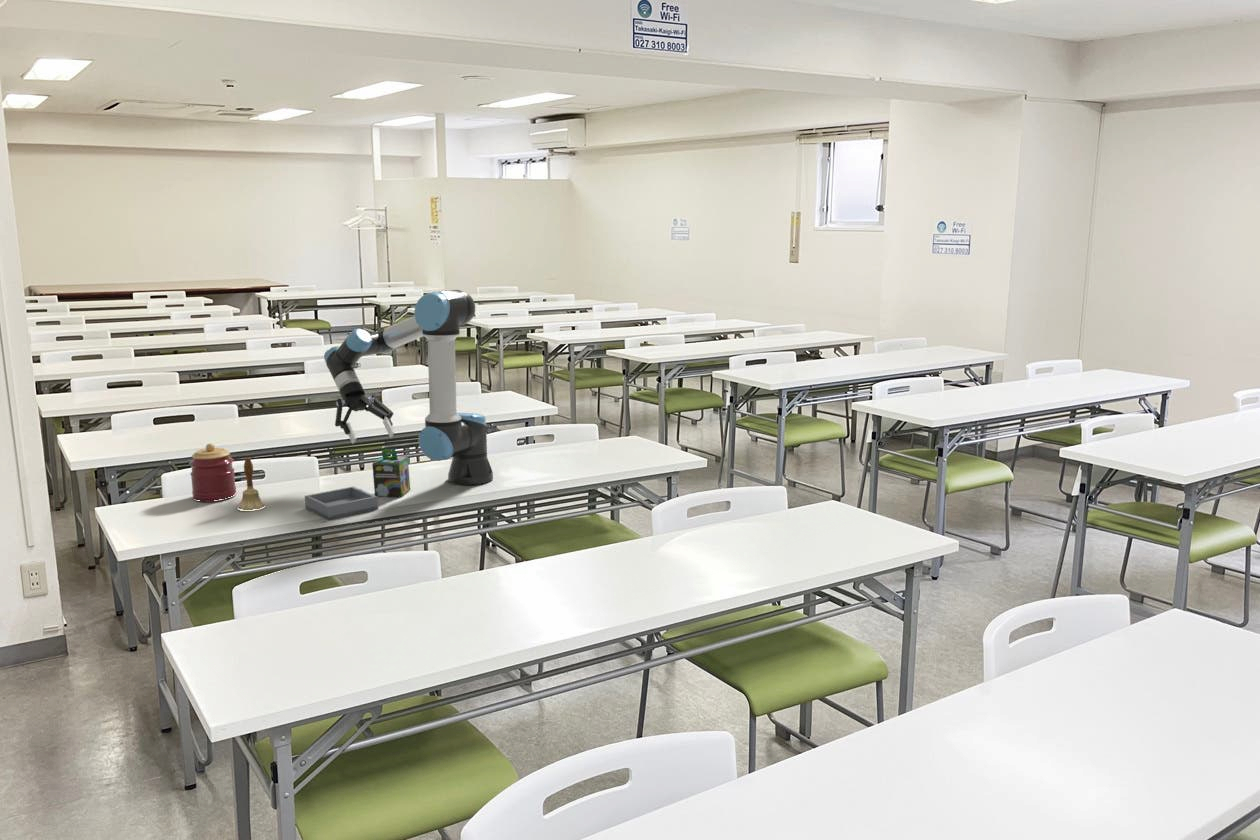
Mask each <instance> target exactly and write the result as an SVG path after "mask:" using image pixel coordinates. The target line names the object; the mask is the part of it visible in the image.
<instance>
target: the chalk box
mask: <svg viewBox="0 0 1260 840" xmlns="http://www.w3.org/2000/svg"><path fill="white" fill-rule="evenodd" d="M387 454H391V456H390V455H389V456H388V455H387ZM381 455H382V456H381V457H380V458H377V459H376V460H375V461H373V462H372V476H373V488H374V490H373V491H374V495H375V496H377V497H380V498H381V497H385V498H402V497H403V496H404V495H405V494H407V493H408V492H409V491H410V490H411V479H410V470H409V469H410V468H409V456H408V455H402V456H401V455H400V456H399V455H398V454H397V451H396V449H382V450H381Z"/></svg>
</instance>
